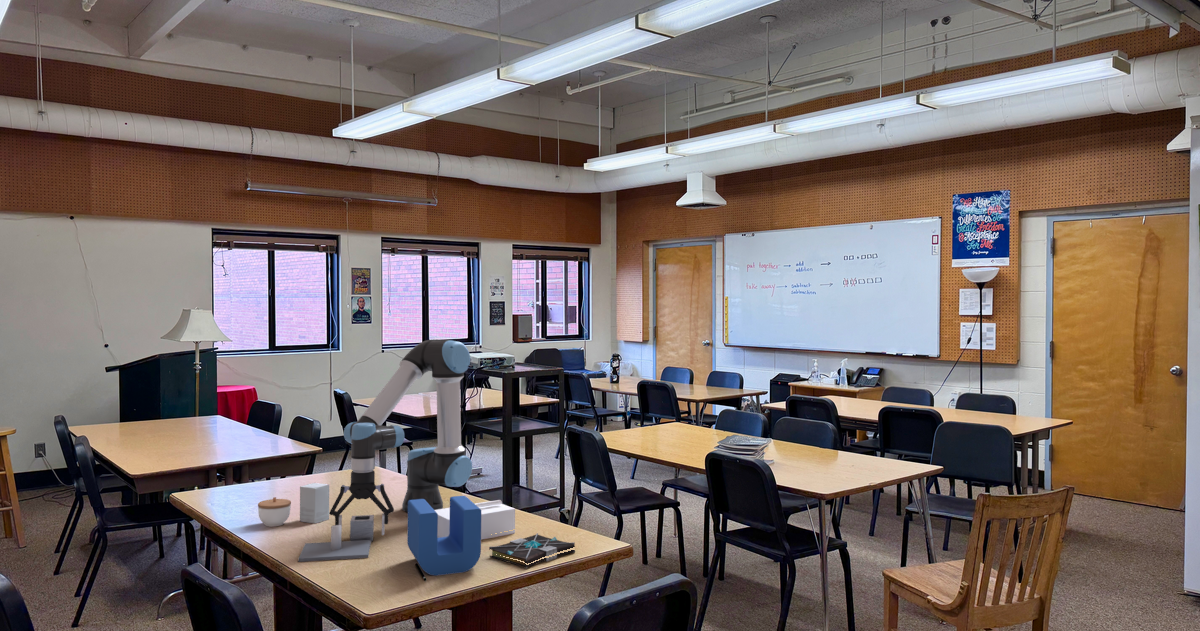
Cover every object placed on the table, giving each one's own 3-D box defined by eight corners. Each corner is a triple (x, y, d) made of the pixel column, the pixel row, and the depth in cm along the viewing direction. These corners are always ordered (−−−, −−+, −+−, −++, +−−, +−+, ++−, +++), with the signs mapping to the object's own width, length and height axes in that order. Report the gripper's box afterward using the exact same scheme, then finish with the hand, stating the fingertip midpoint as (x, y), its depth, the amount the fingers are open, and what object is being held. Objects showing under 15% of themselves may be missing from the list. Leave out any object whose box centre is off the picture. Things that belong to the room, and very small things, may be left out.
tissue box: (428, 536, 265) (428, 504, 265) (493, 524, 280) (493, 494, 280) (448, 546, 254) (449, 512, 254) (514, 533, 269) (515, 501, 269)
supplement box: (329, 519, 284) (330, 484, 284) (314, 524, 278) (314, 488, 278) (314, 516, 288) (314, 482, 288) (298, 521, 281) (299, 486, 281)
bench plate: (370, 543, 255) (371, 518, 255) (368, 557, 240) (368, 531, 240) (305, 546, 251) (305, 521, 251) (298, 561, 235) (298, 534, 235)
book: (526, 570, 231) (526, 553, 231) (487, 558, 242) (487, 542, 242) (575, 553, 248) (575, 538, 248) (537, 543, 259) (537, 528, 259)
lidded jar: (278, 529, 270) (279, 502, 270) (251, 527, 272) (251, 500, 272) (296, 521, 281) (297, 495, 281) (269, 519, 283) (270, 493, 283)
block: (418, 577, 222) (419, 514, 222) (407, 559, 239) (407, 500, 239) (480, 570, 230) (481, 508, 230) (465, 553, 246) (466, 495, 246)
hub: (373, 535, 264) (373, 514, 264) (372, 541, 257) (372, 520, 257) (351, 536, 262) (351, 515, 262) (350, 542, 255) (350, 521, 255)
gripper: (402, 467, 266) (400, 530, 266) (324, 469, 260) (322, 533, 260) (401, 471, 259) (400, 536, 259) (321, 473, 253) (320, 539, 253)
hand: (361, 535), depth 259 cm, fingers open, 13 cm apart
